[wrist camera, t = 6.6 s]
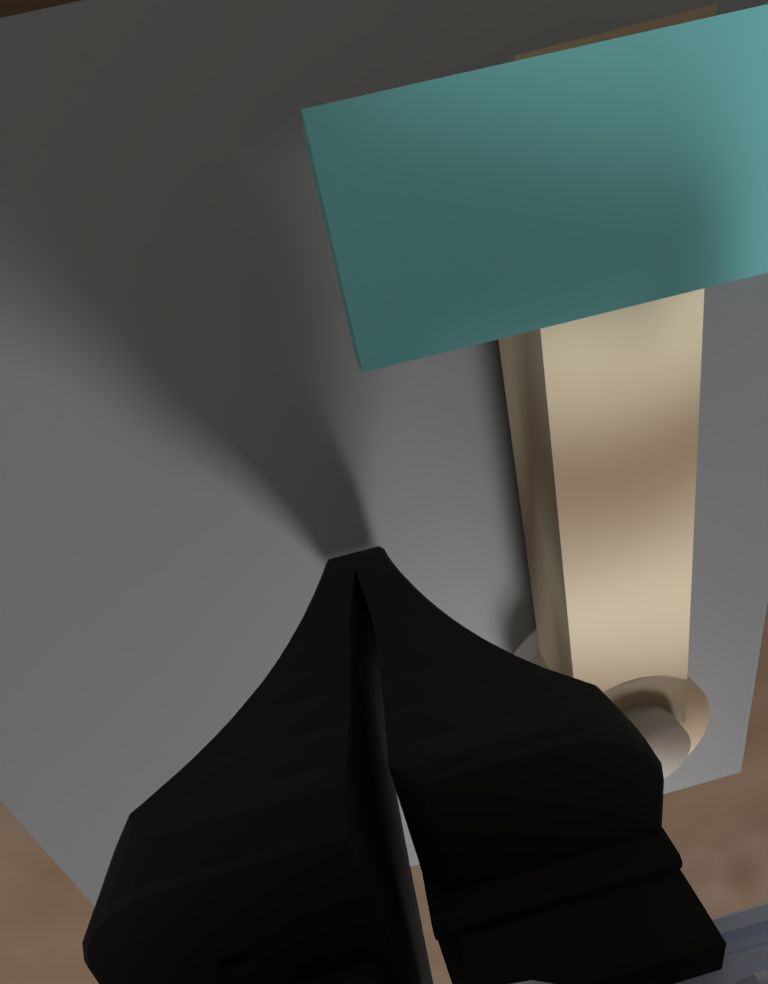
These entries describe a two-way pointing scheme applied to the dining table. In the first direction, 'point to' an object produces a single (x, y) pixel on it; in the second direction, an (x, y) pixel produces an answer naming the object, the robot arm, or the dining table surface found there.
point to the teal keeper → (546, 187)
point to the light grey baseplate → (265, 395)
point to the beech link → (614, 493)
